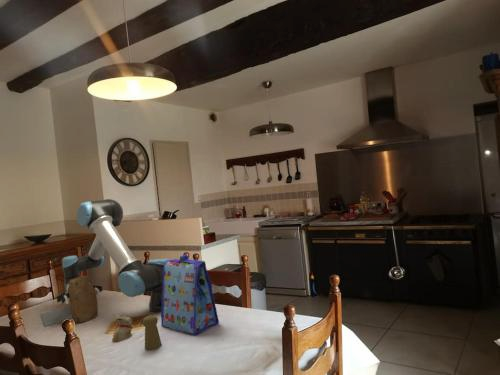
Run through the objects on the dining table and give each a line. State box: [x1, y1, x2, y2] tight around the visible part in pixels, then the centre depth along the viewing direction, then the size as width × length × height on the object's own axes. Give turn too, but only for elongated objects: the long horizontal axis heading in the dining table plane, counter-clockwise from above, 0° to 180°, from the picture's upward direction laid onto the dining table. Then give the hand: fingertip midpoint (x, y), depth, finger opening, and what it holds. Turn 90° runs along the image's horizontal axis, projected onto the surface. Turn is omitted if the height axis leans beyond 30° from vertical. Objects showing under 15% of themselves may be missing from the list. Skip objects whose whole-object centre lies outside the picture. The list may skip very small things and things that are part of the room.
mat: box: [40, 306, 73, 328], centre depth 181 cm, size 24×15×1 cm, turn 34°
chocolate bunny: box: [111, 312, 133, 343], centre depth 144 cm, size 6×8×10 cm
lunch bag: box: [160, 254, 220, 336], centre depth 149 cm, size 22×14×29 cm, turn 49°
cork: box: [142, 314, 163, 351], centre depth 132 cm, size 6×6×11 cm
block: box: [69, 275, 99, 324], centre depth 171 cm, size 11×8×20 cm
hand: (83, 296), depth 170 cm, fingers open, 13 cm apart
